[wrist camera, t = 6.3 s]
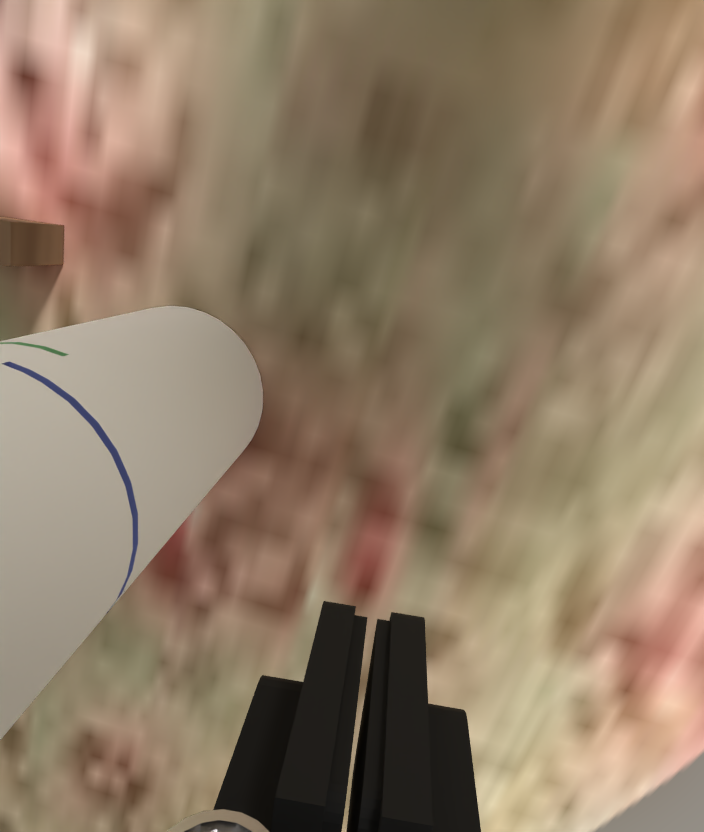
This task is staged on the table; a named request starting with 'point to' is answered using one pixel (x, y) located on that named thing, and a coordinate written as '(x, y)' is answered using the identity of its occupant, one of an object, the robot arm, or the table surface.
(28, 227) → the U-rest
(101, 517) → the cylindrical container
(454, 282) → the table surface
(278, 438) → the table surface
